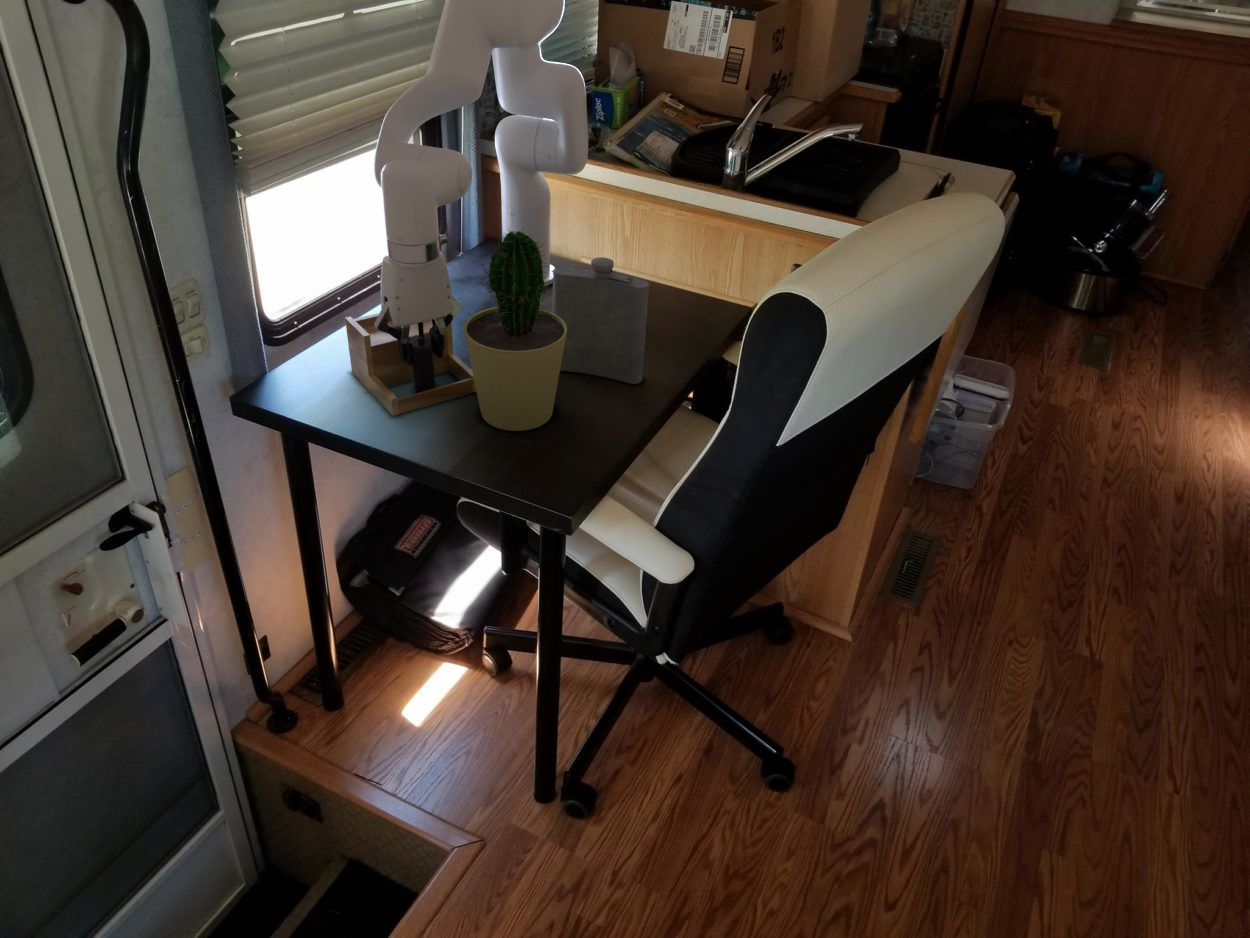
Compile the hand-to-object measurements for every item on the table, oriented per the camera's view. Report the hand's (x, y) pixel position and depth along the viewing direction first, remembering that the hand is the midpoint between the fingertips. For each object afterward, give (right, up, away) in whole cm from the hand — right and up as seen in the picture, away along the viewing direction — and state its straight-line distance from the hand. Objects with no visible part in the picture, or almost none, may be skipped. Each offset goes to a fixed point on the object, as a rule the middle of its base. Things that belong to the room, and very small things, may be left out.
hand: (422, 357), depth 147 cm
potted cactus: (+15, -9, 0) cm, 17 cm away
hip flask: (+27, -1, +12) cm, 30 cm away
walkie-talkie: (0, -5, +4) cm, 7 cm away
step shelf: (-3, -3, +6) cm, 7 cm away
